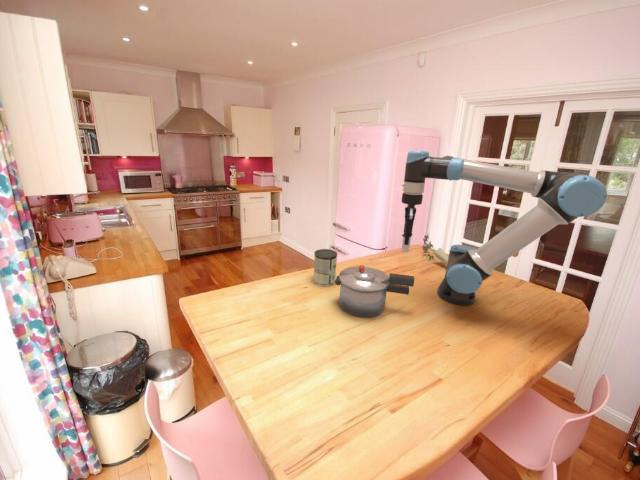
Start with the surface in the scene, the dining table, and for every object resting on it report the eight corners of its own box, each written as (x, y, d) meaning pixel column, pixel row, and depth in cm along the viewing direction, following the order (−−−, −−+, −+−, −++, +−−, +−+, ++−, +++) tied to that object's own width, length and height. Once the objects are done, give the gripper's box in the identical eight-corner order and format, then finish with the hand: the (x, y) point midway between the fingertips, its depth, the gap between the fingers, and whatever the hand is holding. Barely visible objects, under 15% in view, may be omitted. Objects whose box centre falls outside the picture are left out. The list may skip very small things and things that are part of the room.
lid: (335, 288, 109) (336, 275, 107) (342, 267, 127) (343, 256, 126) (415, 299, 104) (417, 286, 102) (410, 275, 122) (412, 264, 121)
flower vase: (449, 289, 153) (411, 251, 180) (470, 281, 154) (429, 245, 182) (451, 272, 146) (411, 236, 173) (473, 264, 148) (430, 229, 175)
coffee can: (314, 275, 144) (315, 248, 139) (335, 277, 143) (337, 249, 139) (311, 285, 134) (313, 256, 130) (334, 287, 133) (336, 258, 129)
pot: (330, 312, 114) (332, 286, 110) (338, 290, 131) (340, 267, 127) (405, 325, 108) (410, 298, 105) (404, 300, 125) (408, 277, 121)
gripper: (402, 189, 120) (395, 245, 127) (403, 195, 108) (395, 256, 115) (421, 191, 118) (413, 247, 126) (424, 196, 106) (415, 258, 114)
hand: (405, 251), depth 120 cm, fingers closed
